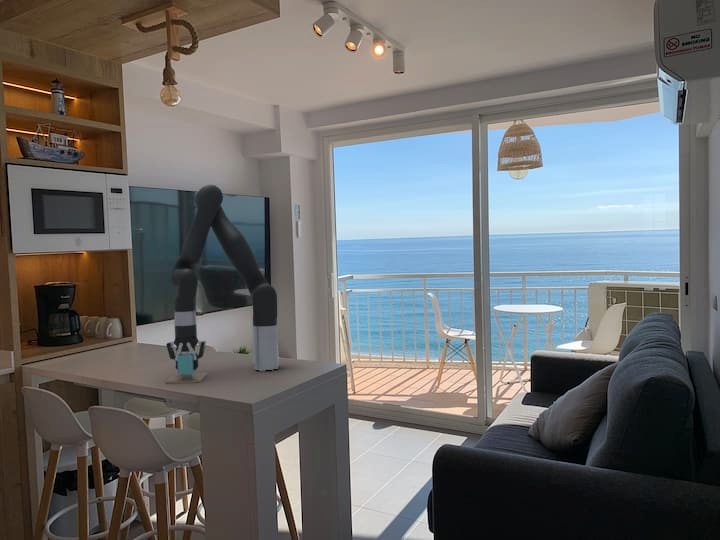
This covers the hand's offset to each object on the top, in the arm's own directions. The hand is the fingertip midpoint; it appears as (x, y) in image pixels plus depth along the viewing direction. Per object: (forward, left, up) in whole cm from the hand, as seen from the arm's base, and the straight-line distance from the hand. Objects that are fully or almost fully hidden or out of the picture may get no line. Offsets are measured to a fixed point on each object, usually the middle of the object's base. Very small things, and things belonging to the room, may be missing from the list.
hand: (187, 369), depth 192 cm
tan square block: (0, 0, -3) cm, 3 cm away
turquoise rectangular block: (0, 0, -1) cm, 1 cm away
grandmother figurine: (+7, -22, -4) cm, 23 cm away
